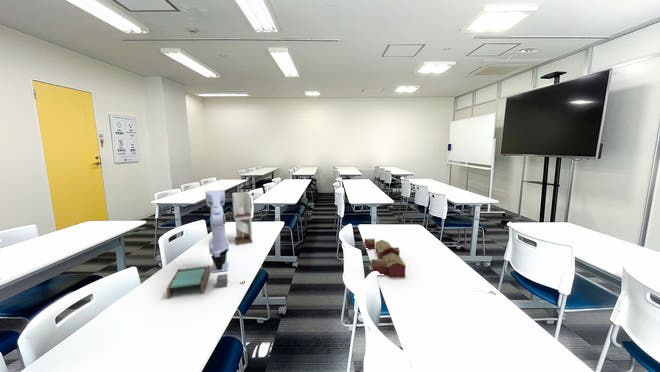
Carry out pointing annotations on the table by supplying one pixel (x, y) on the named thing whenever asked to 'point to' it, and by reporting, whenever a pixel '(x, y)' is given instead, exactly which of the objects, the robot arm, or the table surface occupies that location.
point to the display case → (242, 217)
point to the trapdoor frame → (203, 282)
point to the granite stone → (222, 281)
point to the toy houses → (386, 258)
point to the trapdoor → (188, 277)
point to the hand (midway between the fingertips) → (221, 266)
